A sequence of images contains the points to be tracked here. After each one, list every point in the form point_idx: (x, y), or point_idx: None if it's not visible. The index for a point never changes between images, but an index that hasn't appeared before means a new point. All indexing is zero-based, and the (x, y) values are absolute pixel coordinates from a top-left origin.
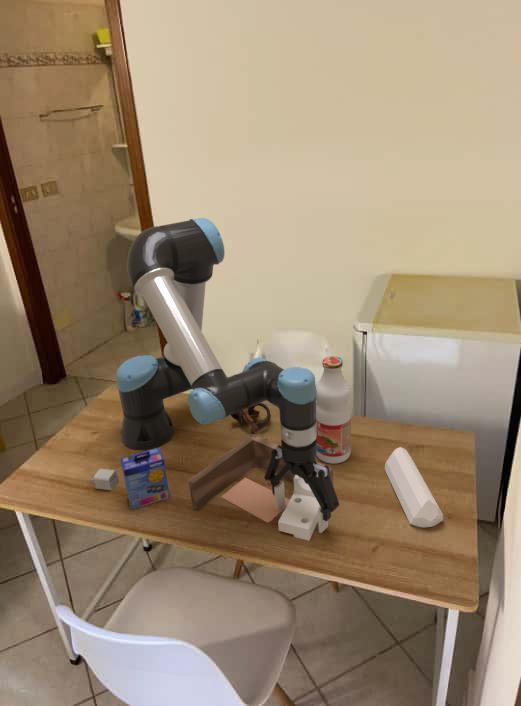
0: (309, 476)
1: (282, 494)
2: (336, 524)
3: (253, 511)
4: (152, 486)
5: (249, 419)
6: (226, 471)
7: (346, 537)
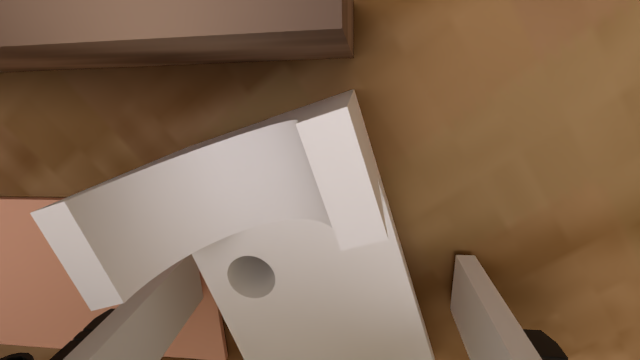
0: (137, 58)
1: (153, 314)
2: (499, 207)
3: None
4: None
5: None
6: None
7: (593, 255)
